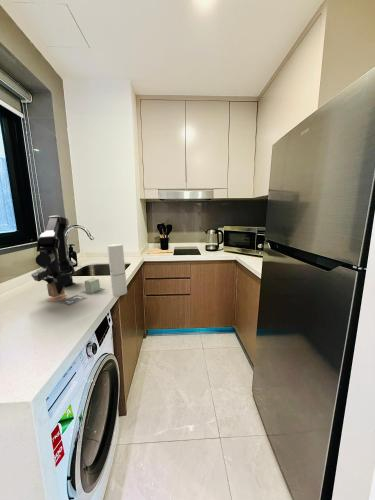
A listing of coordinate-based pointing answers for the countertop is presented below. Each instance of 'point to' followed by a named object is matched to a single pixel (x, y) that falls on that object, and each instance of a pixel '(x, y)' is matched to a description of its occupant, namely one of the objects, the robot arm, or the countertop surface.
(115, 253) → the tall white block
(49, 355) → the countertop surface
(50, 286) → the walnut block
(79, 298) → the tile
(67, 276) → the robot arm
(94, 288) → the sage block
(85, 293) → the code tile
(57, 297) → the coaster
